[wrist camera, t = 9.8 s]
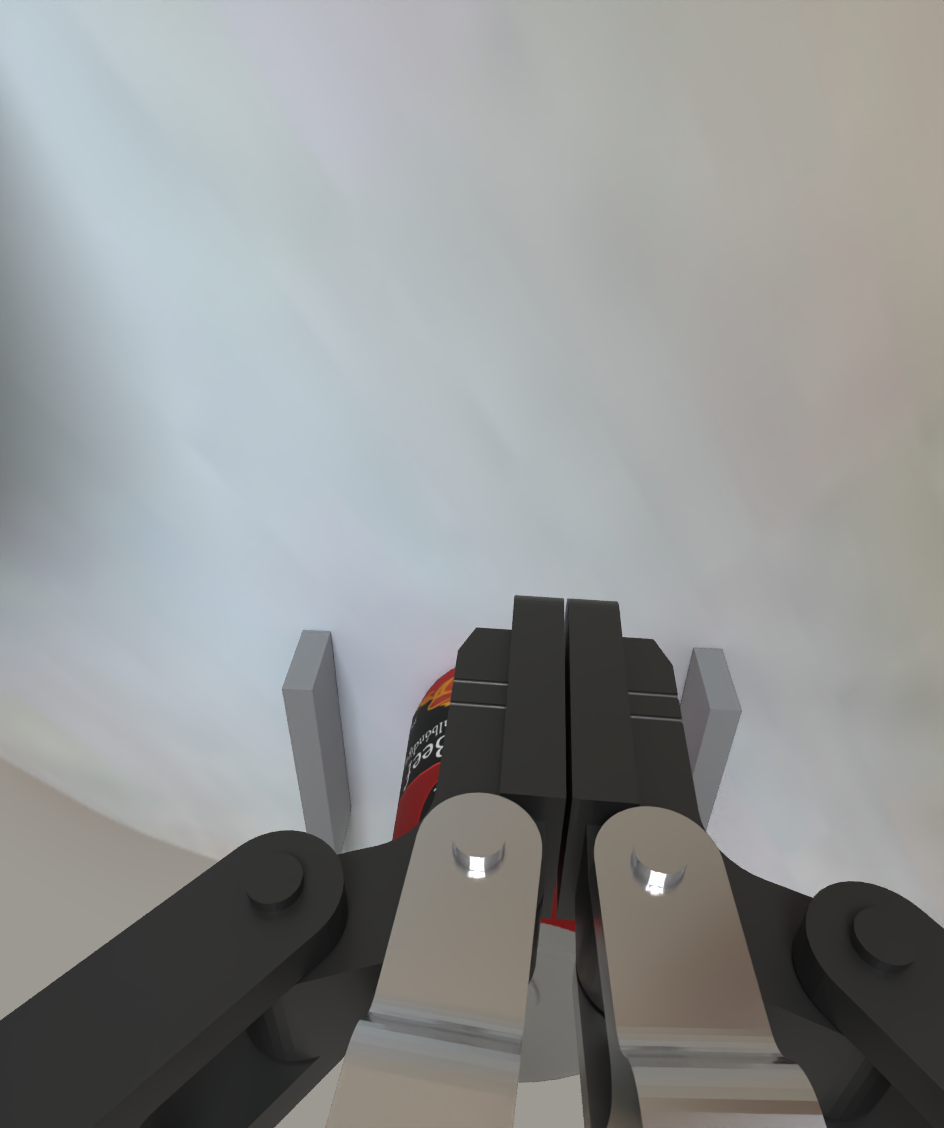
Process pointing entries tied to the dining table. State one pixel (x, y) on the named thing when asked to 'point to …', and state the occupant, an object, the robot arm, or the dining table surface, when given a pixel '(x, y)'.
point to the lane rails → (321, 747)
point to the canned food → (550, 988)
